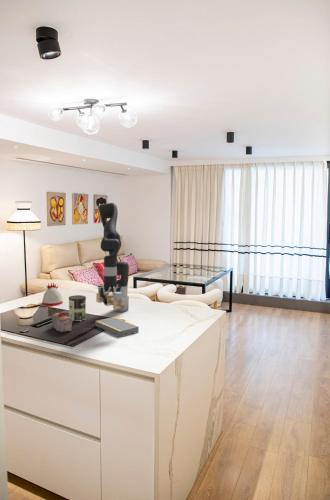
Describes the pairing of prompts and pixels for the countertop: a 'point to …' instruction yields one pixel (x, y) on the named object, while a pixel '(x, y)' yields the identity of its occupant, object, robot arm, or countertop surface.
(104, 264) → the robot arm
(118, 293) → the crate
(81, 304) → the coffee can
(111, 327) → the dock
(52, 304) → the kitchen timer
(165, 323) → the countertop surface
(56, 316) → the food item
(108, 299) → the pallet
